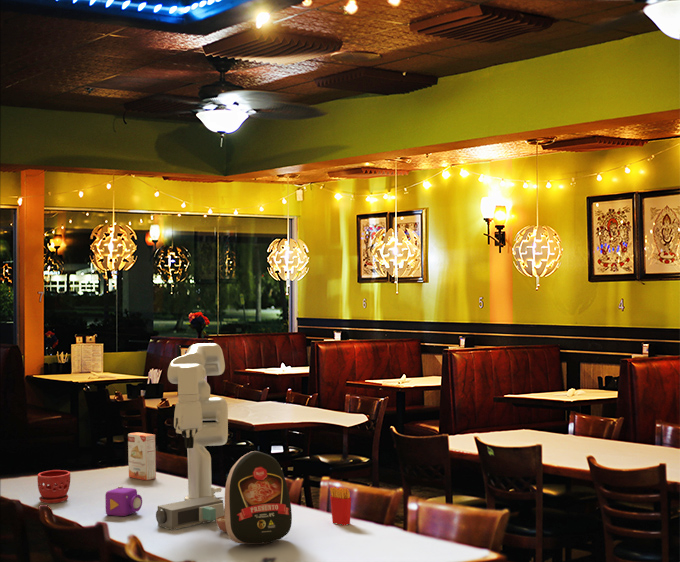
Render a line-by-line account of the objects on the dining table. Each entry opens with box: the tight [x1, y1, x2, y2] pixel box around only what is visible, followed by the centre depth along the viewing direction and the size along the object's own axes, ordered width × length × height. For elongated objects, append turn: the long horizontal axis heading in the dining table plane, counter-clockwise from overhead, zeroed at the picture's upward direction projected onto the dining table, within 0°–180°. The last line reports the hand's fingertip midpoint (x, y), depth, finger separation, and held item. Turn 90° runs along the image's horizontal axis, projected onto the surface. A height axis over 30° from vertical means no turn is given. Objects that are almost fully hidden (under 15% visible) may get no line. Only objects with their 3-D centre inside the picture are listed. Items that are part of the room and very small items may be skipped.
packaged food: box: [224, 450, 293, 545], centre depth 288 cm, size 22×20×30 cm
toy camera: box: [104, 485, 143, 517], centre depth 333 cm, size 11×14×10 cm
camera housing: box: [155, 496, 224, 531], centre depth 317 cm, size 24×11×7 cm, turn 132°
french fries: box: [329, 486, 352, 526], centre depth 311 cm, size 9×4×13 cm, turn 47°
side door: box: [199, 502, 225, 522], centre depth 315 cm, size 10×6×5 cm, turn 132°
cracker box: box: [127, 431, 157, 481], centre depth 405 cm, size 14×6×21 cm, turn 49°
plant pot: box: [37, 469, 71, 504], centre depth 358 cm, size 13×13×12 cm
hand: (189, 447), depth 321 cm, fingers closed
